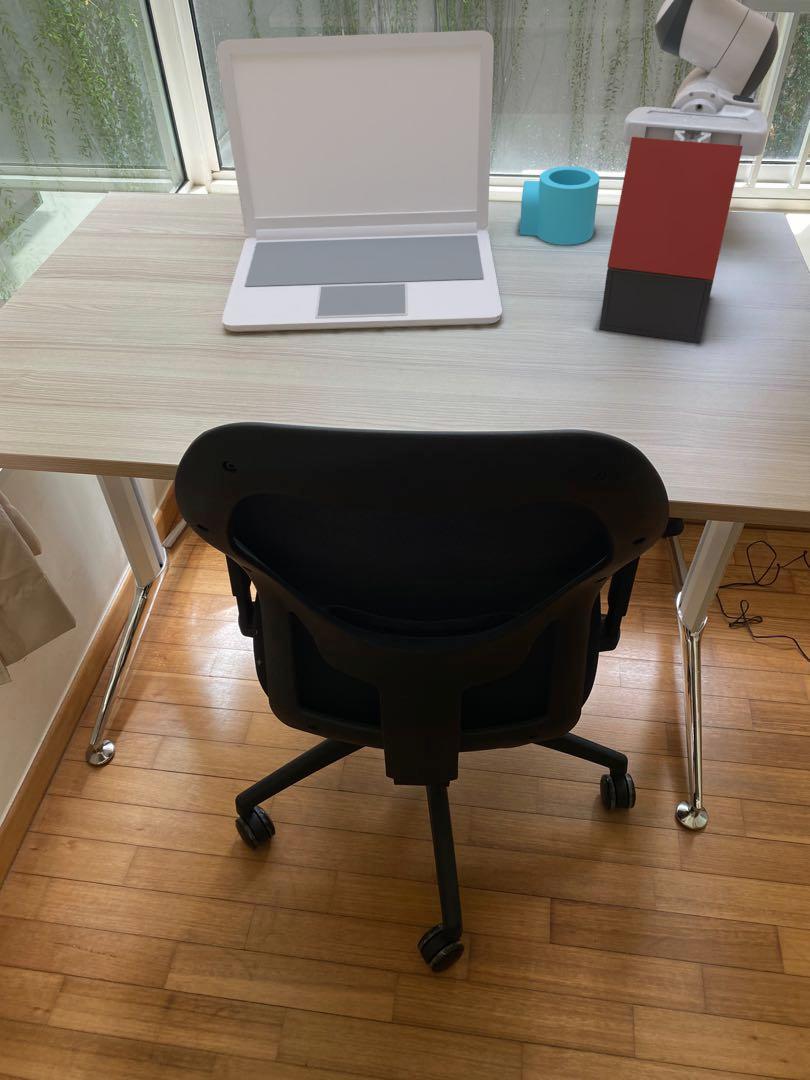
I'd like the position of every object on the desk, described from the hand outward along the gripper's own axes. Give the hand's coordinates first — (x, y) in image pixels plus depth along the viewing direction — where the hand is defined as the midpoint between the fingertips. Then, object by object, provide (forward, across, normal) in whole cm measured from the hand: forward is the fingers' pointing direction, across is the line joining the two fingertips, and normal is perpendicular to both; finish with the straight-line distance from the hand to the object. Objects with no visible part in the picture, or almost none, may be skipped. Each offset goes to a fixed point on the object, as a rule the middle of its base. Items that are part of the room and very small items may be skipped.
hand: (688, 150), depth 123 cm
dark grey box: (+15, 0, +18) cm, 23 cm away
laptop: (+17, -44, +18) cm, 50 cm away
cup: (-8, -19, +18) cm, 27 cm away
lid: (+17, 0, +2) cm, 17 cm away
